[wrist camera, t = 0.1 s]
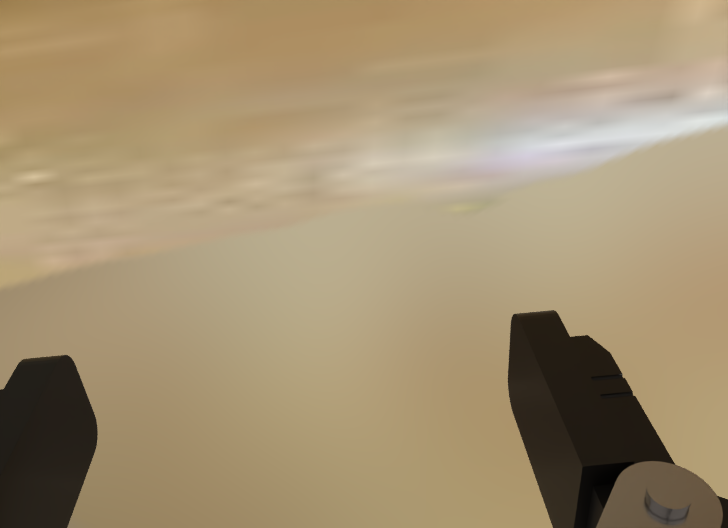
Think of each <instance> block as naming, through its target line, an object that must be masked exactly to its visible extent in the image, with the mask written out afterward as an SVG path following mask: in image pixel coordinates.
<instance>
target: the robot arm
mask: <svg viewBox="0 0 728 528" xmlns="http://www.w3.org/2000/svg"><path fill="white" fill-rule="evenodd" d="M508 389H509V397H510V402H511V407H512V411H513V414H514V417H515V420H516V423H517V425H518V428H519V431H520V434H521V437H522V440H523V443H524V445H525V448H526V451H527V454H528V457H529V460H530V463H531V465H532V469H533V471H534V474H535V477H536V480H537V483H538V485H539V489H540V492H541V494H542V497H543V500H544V503H545V506H546V508H547V511H548V514H549V517H550V520H551V523H552V525H553V528H728V499H725V498H722V497H719V496H717V495H716V493H715V492H714V491H713V490H712V489H711V487H710V486H709V485H708V484H707V483H706V482H705V481H704V480H703V479H701V478H700V477H698V476H697V475H696V474H694V473H692V472H691V471H689V470H687V469H685V468H682V467H680V466H677V465H675V463H674V462H673V460H672V458H671V457H670V455H669V453H668V452H667V450H666V448H665V446H664V445H663V443H662V441H661V440H660V438H659V436H658V435H657V433H656V431H655V429H654V428H653V426H652V424H651V422H650V421H649V419H648V417H647V415H646V414H645V412H644V410H643V409H642V407H641V405H640V403H639V402H638V400H637V398H636V397H635V396H633V393H632V390H631V388H630V386H629V385H628V383H627V381H626V379H625V378H623V377H622V373H621V371H620V369H619V367H618V366H617V364H616V362H615V360H614V359H613V357H612V355H611V354H610V352H608V351H607V350H606V349H604V348H603V347H602V346H601V345H600V344H598V343H597V342H596V341H594V340H593V339H592V338H590V337H589V336H588V335H585V336H575V337H570V336H569V334H568V333H567V330H566V328H565V326H564V324H563V323H562V321H561V319H560V317H559V315H558V313H557V312H556V311H554V310H552V311H541V312H530V313H520V314H514V315H513V317H512V320H511V333H510V350H509V369H508ZM96 445H97V423H96V418H95V415H94V412H93V409H92V407H91V404H90V402H89V399H88V397H87V394H86V391H85V389H84V386H83V384H82V381H81V379H80V376H79V373H78V371H77V368H76V366H75V363H74V361H73V360H72V358H71V357H69V356H68V355H61V356H51V357H40V358H30V359H23V360H22V361H21V362H20V363H19V364H18V365H17V367H16V369H15V370H14V372H13V374H12V376H11V377H10V379H9V381H8V383H7V384H6V386H5V388H4V389H3V390H0V528H67V526H68V524H69V521H70V518H71V516H72V513H73V510H74V507H75V504H76V502H77V499H78V496H79V493H80V491H81V488H82V485H83V483H84V480H85V477H86V474H87V472H88V469H89V466H90V464H91V461H92V458H93V455H94V452H95V449H96Z"/></svg>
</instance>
